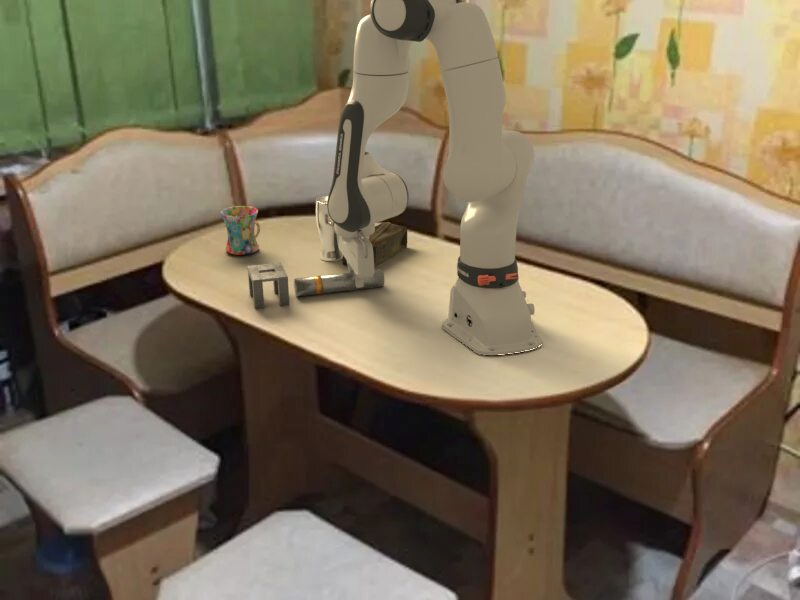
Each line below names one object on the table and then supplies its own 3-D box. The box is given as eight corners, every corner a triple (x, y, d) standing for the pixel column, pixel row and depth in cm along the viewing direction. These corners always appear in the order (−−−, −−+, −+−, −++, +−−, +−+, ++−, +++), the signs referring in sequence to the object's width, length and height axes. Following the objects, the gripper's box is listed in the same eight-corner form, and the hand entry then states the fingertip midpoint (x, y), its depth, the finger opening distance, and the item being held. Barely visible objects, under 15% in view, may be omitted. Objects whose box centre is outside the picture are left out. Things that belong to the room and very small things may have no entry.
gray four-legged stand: (289, 305, 193) (287, 276, 191) (255, 309, 192) (252, 280, 189) (282, 290, 201) (280, 262, 199) (249, 293, 199) (247, 266, 197)
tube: (379, 283, 205) (379, 266, 204) (384, 289, 201) (384, 272, 200) (294, 293, 200) (293, 276, 198) (297, 299, 196) (296, 281, 195)
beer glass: (347, 252, 224) (345, 195, 218) (343, 262, 217) (341, 203, 211) (320, 252, 224) (317, 194, 218) (315, 261, 218) (312, 203, 212)
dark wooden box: (409, 248, 227) (409, 224, 224) (368, 272, 212) (367, 246, 209) (383, 243, 231) (382, 219, 228) (340, 266, 216) (340, 240, 213)
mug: (216, 252, 225) (212, 211, 221) (245, 242, 231) (242, 203, 227) (246, 262, 218) (243, 221, 213) (275, 253, 224) (272, 212, 220)
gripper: (381, 237, 187) (381, 297, 193) (357, 209, 205) (359, 265, 211) (351, 240, 186) (353, 301, 191) (331, 212, 204) (333, 268, 209)
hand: (356, 282), depth 201 cm, fingers closed on tube, 4 cm apart
